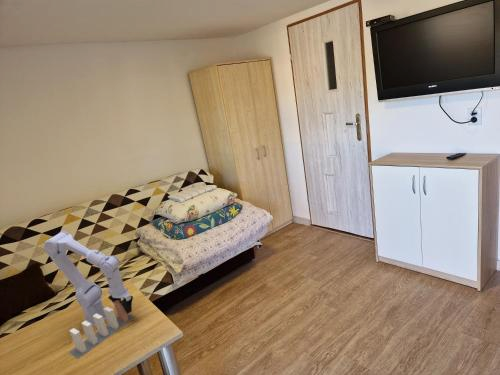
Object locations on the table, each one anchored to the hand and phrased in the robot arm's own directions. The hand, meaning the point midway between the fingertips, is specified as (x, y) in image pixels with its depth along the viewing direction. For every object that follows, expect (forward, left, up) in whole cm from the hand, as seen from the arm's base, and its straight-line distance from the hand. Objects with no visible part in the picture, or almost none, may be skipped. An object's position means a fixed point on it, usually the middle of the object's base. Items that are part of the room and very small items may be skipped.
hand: (124, 310), depth 154 cm
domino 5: (0, -2, -4) cm, 4 cm away
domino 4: (0, -7, -4) cm, 8 cm away
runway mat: (0, -12, -4) cm, 12 cm away
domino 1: (0, -22, -4) cm, 22 cm away
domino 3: (0, -12, -4) cm, 12 cm away
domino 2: (0, -17, -4) cm, 17 cm away
